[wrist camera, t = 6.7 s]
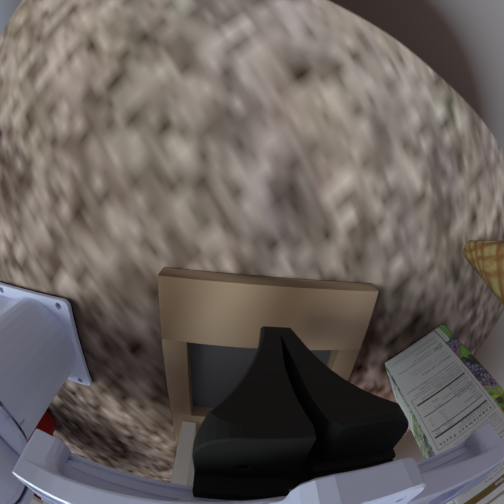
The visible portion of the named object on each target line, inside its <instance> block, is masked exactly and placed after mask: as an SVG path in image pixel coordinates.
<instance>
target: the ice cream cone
mask: <svg viewBox="0 0 504 504" xmlns="http://www.w3.org/2000/svg"><path fill="white" fill-rule="evenodd" d="M464 256H465V258H466V259H467V260H468V262H469V263H470V264H471V265H472V266H473V267H474V269H475V270H476V271H477V272H478V274H479V275H480V276H481V277H482V279H483V280H484V281H485V282H486V284H487V285H488V286H489V288H490V289H491V290H492V291H493V293H494V294H495V295H496V297H497V298H498V299H499V301H500V302H501V303H502V305H503V306H504V241H469V242H467V244H466V245H465V248H464Z"/></svg>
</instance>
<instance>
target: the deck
mask: <svg viewBox="0 0 504 504" xmlns="http://www.w3.org/2000/svg"><path fill="white" fill-rule="evenodd" d="M158 294H159V312H160V326H161V337H162V348H163V357H164V366H165V374H166V382H167V389H168V396H169V402H170V408H171V414H172V420H173V425H174V431H175V436H176V441H177V446H178V442H179V437H180V432H181V427H182V422H183V421H185V422H192V423H196V432H198V430H199V428H200V426H201V424H202V422H203V420H204V419H205V417H206V415H207V414H208V412H209V411H210V410H212V409H213V408H214V407H215V406H217V405H218V404H219V403H220V402H221V401H222V400H223V399H224V398H225V397H226V396H227V395H228V394H229V393H230V392H231V391H232V390H233V389H234V388H235V387H236V385H237V384H238V383H239V381H240V380H241V379H242V377H243V376H244V374H245V373H246V371H247V370H248V368H249V366H250V364H251V363H252V360H253V358H254V356H255V354H256V352H257V349H258V345H259V338H260V331H261V328H262V327H263V326H268V327H287V328H291V329H292V330H293V331H294V332H295V334H296V335H297V336H298V337H299V338H300V340H301V341H302V342H303V343H304V344H305V345H306V346H307V348H308V349H309V350H310V351H311V352H312V353H313V354H314V355H315V356H316V357H317V358H318V359H319V360H321V361H322V362H323V363H324V364H325V365H326V366H327V367H328V368H330V369H331V370H332V371H334V372H335V373H336V374H338V375H339V376H340V377H342V378H343V379H345V380H346V381H348V379H349V377H350V374H351V372H352V369H353V367H354V364H355V362H356V359H357V357H358V354H359V351H360V348H361V346H362V343H363V340H364V337H365V334H366V331H367V328H368V325H369V322H370V319H371V316H372V313H373V309H374V306H375V303H376V299H377V296H378V291H377V289H376V288H375V287H374V286H373V285H372V284H371V283H355V282H338V281H322V280H307V279H292V278H279V277H266V276H253V275H241V274H229V273H218V272H207V271H196V270H185V269H175V268H165V267H164V268H163V269H162V271H161V272H160V273H159V275H158Z"/></svg>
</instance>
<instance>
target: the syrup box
mask: <svg viewBox="0 0 504 504" xmlns="http://www.w3.org/2000/svg"><path fill="white" fill-rule="evenodd" d="M384 365H385V368H386V372H387V374H388V378H389V381H390V384H391V387H392V391H393V394H394V398H395V401H396V402H397V403H398V404H399V405H400V407H401V409H402V410H403V412H404V414H405V416H406V418H407V419H408V422H409V425H408V426H409V428H410V430H411V432H412V434H413V436H414V438H415V440H416V442H417V444H418V446H419V448H420V450H421V452H422V455H423V457H424V459H427V458H430V457H432V456H435V455H437V454H440V453H442V452H444V451H446V450H449V449H451V448H453V447H455V446H457V445H459V444H461V443H463V442H465V440H466V439H467V438H468V436H469V435H470V434H471V433H472V432H473V431H475V430H476V429H478V428H480V427H481V426H483V425H485V424H487V423H490V425H491V426H492V427H493V429H494V430H495V432H496V433H497V435H498V436H499V437H500V439H501V440H502V442H503V443H504V390H503V389H502V388H501V387H500V386H499V384H498V383H497V382H496V381H495V380H494V378H492V376H491V375H490V374H489V373H488V372H487V370H486V369H485V368H484V367H483V366H482V365H481V364H480V363H479V362H478V361H477V360H476V359H475V357H474V356H473V355H472V354H471V353H470V352H469V351H468V350H467V349H466V348H465V347H464V345H463V344H462V343H461V342H460V341H459V340H458V339H457V338H456V337H455V336H454V335H453V334H452V333H451V332H450V331H449V330H448V329H447V328H446V327H445V326H444V325H440V326H438V327H437V328H436V329H434V330H433V331H432V332H430V333H429V334H427V335H426V336H425V337H423V338H422V339H420V340H419V341H417V342H416V343H414V344H413V345H411V346H410V347H408V348H407V349H405V350H404V351H402V352H401V353H399V354H398V355H396V356H395V357H393V358H392V359H390V360H388V361H387V362H385V364H384ZM502 495H504V460H503V461H502V462H501V463H500V464H499V465H498V466H497V467H496V468H495V469H494V470H493V471H492V472H491V473H490V474H488V475H487V476H486V477H485V478H484V479H483V480H481V481H480V482H479V483H478V484H476V485H475V486H473V487H472V488H470V489H469V490H467V491H466V492H464V493H463V494H461V495H459V496H458V497H456V498H455V499H453V500H451V501H450V502H448V503H446V504H491V503H493V502H494V501H496V500H497V499H498V498H500V497H501V496H502Z"/></svg>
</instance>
